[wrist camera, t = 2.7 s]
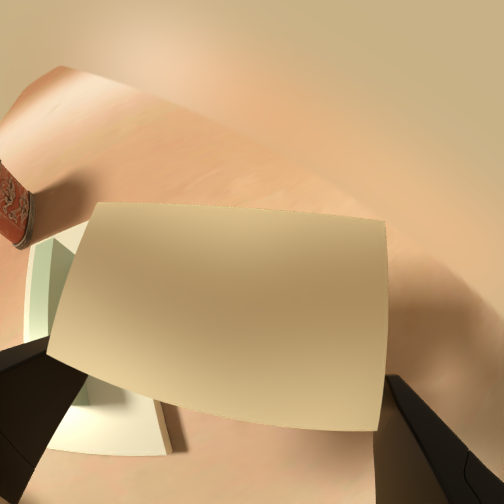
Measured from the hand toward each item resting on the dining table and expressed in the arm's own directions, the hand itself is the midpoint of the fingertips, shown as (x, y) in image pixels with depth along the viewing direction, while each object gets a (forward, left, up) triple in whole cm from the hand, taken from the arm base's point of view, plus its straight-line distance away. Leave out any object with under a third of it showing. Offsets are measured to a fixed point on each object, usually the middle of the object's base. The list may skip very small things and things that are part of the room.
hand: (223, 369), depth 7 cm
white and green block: (+7, +11, -9) cm, 16 cm away
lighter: (+23, +17, -9) cm, 30 cm away
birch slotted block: (+1, -1, -9) cm, 9 cm away
